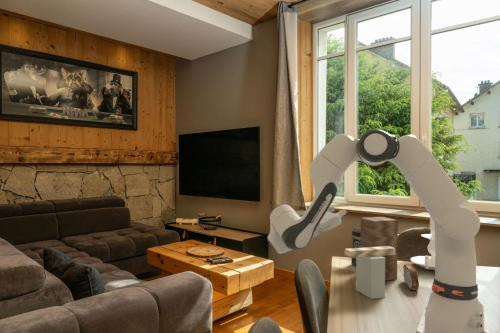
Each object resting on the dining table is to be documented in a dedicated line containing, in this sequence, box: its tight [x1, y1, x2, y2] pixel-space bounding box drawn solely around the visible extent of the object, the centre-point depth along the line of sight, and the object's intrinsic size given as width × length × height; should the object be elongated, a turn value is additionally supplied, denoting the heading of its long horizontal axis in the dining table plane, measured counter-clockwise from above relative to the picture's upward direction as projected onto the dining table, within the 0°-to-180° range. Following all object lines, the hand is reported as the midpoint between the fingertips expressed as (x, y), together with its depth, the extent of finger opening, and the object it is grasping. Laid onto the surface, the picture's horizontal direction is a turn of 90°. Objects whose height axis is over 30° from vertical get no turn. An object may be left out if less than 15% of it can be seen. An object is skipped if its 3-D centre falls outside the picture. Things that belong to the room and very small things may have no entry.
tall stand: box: [360, 216, 399, 281], centre depth 156 cm, size 12×10×26 cm
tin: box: [402, 263, 420, 291], centre depth 143 cm, size 15×3×8 cm, turn 168°
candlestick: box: [410, 215, 435, 271], centre depth 168 cm, size 21×25×28 cm
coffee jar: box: [350, 227, 361, 267], centre depth 172 cm, size 10×8×19 cm
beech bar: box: [344, 246, 395, 259], centre depth 135 cm, size 20×4×2 cm, turn 105°
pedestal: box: [355, 256, 386, 300], centre depth 135 cm, size 6×10×15 cm, turn 15°
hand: (339, 209), depth 133 cm, fingers open, 8 cm apart
